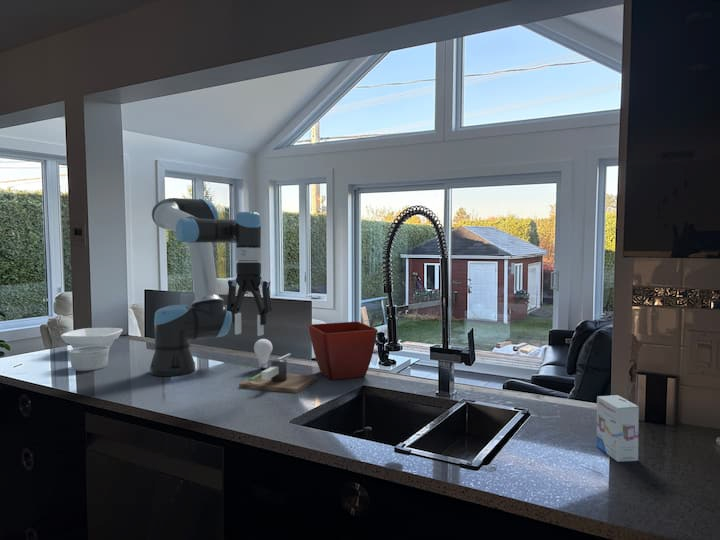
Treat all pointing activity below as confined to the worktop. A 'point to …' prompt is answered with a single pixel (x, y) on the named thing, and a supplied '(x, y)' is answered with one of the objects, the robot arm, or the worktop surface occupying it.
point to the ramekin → (89, 357)
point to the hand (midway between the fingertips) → (249, 334)
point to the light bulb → (263, 351)
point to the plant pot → (343, 348)
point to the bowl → (91, 337)
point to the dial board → (279, 383)
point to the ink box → (617, 427)
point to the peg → (276, 369)
